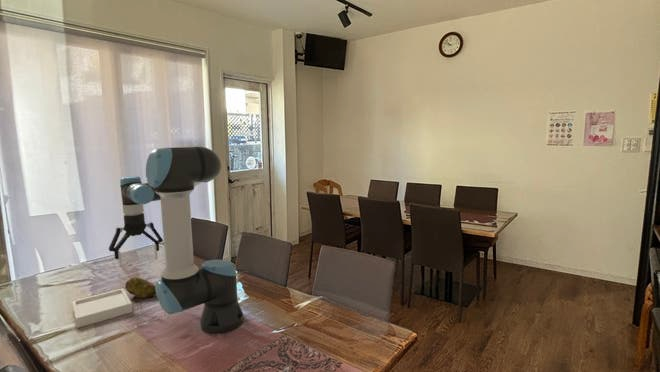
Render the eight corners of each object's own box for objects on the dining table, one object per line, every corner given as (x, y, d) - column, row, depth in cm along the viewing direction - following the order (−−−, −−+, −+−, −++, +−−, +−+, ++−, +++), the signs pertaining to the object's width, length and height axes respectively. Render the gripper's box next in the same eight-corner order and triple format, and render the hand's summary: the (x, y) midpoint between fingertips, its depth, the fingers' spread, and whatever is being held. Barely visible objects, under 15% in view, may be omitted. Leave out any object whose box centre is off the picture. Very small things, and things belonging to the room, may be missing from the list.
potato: (144, 303, 149) (142, 284, 148) (122, 297, 154) (121, 280, 153) (160, 294, 156) (159, 277, 155) (140, 290, 162) (138, 273, 160)
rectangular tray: (132, 312, 141) (131, 303, 141) (77, 327, 130) (75, 318, 130) (124, 296, 155) (123, 288, 155) (73, 309, 144) (72, 300, 144)
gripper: (163, 207, 160) (167, 253, 164) (97, 216, 145) (103, 266, 148) (167, 210, 155) (171, 257, 158) (99, 220, 139) (105, 272, 142)
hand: (138, 262), depth 153 cm, fingers open, 13 cm apart
